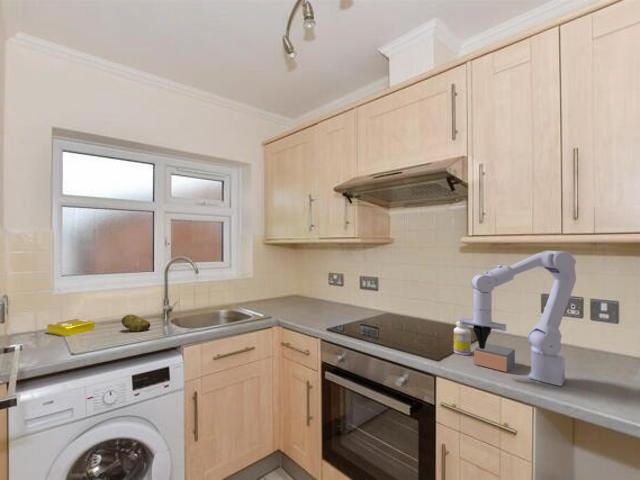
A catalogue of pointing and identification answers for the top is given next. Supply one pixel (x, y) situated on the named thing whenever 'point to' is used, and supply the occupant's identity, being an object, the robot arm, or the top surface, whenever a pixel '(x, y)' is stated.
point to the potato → (135, 323)
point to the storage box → (500, 353)
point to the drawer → (490, 360)
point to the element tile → (70, 327)
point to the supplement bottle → (462, 339)
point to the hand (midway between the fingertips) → (482, 348)
